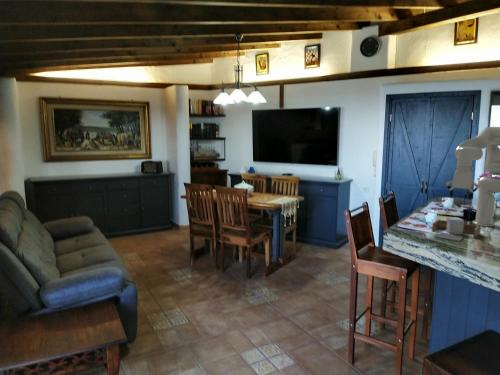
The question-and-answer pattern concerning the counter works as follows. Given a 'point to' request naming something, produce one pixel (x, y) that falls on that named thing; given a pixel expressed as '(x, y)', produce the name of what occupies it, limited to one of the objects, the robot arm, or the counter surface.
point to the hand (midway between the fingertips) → (460, 198)
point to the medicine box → (455, 226)
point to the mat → (450, 236)
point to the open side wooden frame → (466, 228)
